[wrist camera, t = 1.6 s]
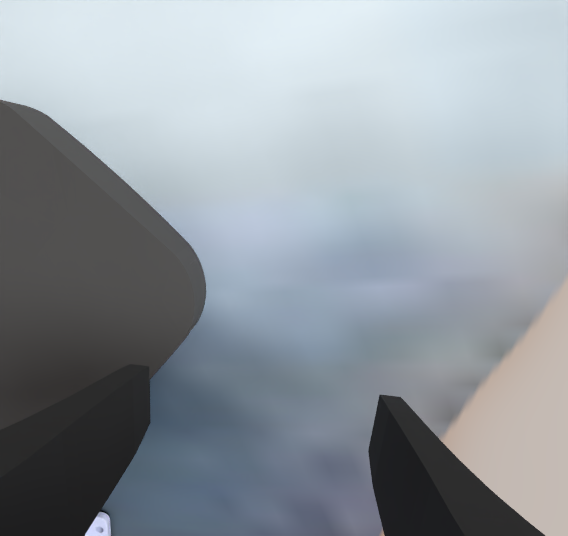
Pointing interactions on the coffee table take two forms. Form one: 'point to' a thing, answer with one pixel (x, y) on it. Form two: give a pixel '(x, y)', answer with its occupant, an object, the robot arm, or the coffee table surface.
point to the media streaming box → (80, 270)
